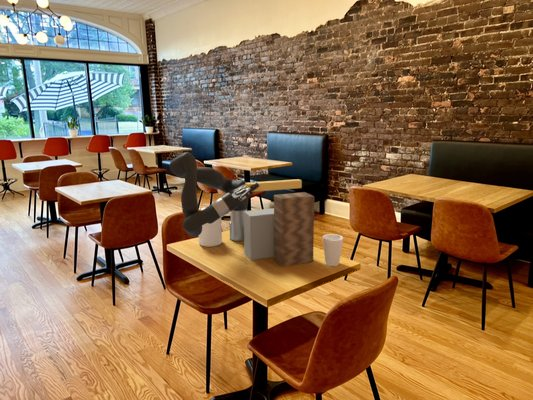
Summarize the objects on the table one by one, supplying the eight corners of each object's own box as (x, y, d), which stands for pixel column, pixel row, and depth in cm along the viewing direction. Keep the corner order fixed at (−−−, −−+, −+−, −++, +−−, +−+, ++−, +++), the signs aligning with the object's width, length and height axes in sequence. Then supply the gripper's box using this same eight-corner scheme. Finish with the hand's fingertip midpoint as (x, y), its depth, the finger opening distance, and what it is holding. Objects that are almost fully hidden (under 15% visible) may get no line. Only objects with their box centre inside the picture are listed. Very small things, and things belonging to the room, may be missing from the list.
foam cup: (318, 261, 190) (318, 235, 187) (334, 258, 194) (335, 233, 191) (329, 268, 181) (329, 241, 178) (346, 265, 185) (347, 238, 182)
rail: (247, 192, 174) (247, 184, 173) (245, 190, 177) (245, 182, 176) (301, 187, 183) (301, 180, 182) (298, 186, 186) (298, 179, 185)
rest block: (250, 260, 192) (249, 216, 187) (244, 253, 202) (243, 211, 197) (281, 255, 198) (281, 212, 193) (273, 249, 207) (273, 208, 202)
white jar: (212, 248, 209) (211, 211, 204) (194, 244, 215) (192, 208, 210) (226, 241, 219) (225, 206, 215) (208, 238, 225) (207, 203, 221)
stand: (282, 266, 184) (282, 199, 177) (274, 259, 193) (273, 194, 186) (313, 261, 190) (314, 196, 182) (303, 254, 199) (304, 192, 192)
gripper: (224, 201, 165) (258, 179, 169) (216, 194, 178) (247, 173, 181) (233, 215, 168) (266, 193, 171) (224, 208, 181) (255, 187, 184)
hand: (256, 183), depth 176 cm, fingers closed on rail, 3 cm apart
